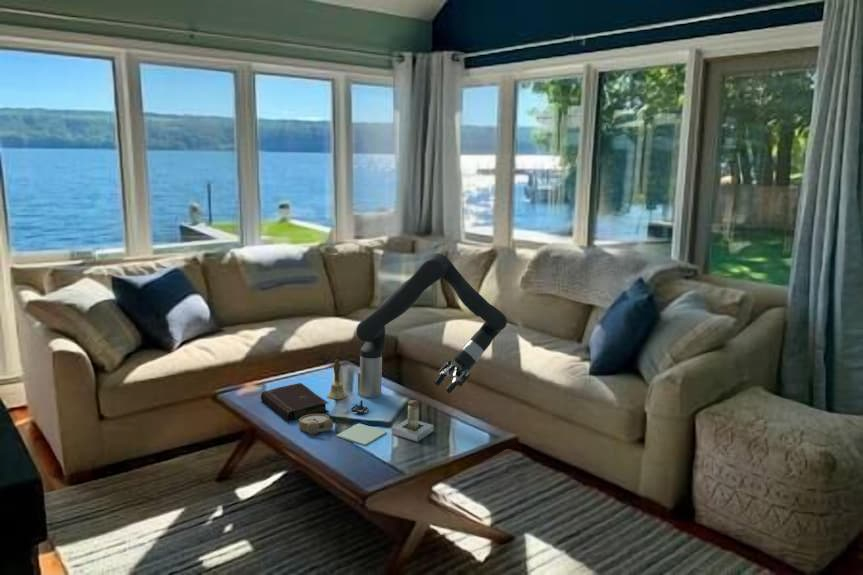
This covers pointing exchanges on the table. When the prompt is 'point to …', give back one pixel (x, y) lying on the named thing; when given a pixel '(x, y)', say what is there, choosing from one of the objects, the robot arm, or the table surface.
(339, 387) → the hand bell
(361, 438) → the tile
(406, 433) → the block
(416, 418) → the peg
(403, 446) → the table surface
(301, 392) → the diary
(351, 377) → the table surface
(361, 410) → the beaded bracelet pile
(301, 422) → the alarm clock
